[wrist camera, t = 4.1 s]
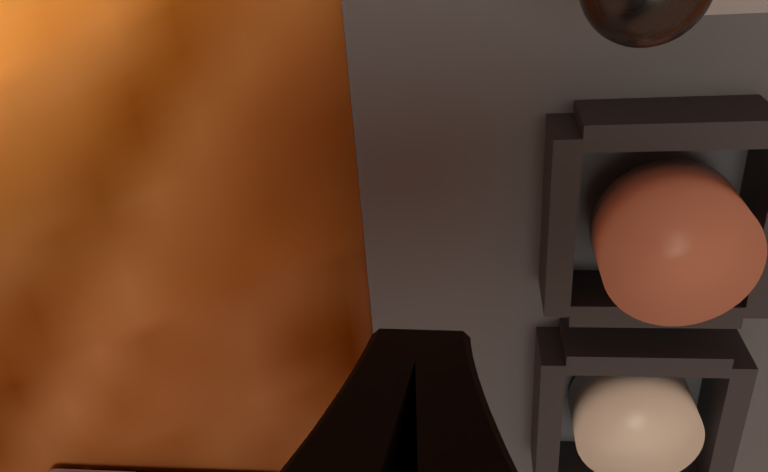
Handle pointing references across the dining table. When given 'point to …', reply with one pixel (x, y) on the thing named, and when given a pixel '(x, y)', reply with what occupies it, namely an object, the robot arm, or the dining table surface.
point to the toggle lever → (643, 19)
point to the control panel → (553, 200)
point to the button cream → (635, 423)
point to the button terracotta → (676, 243)
